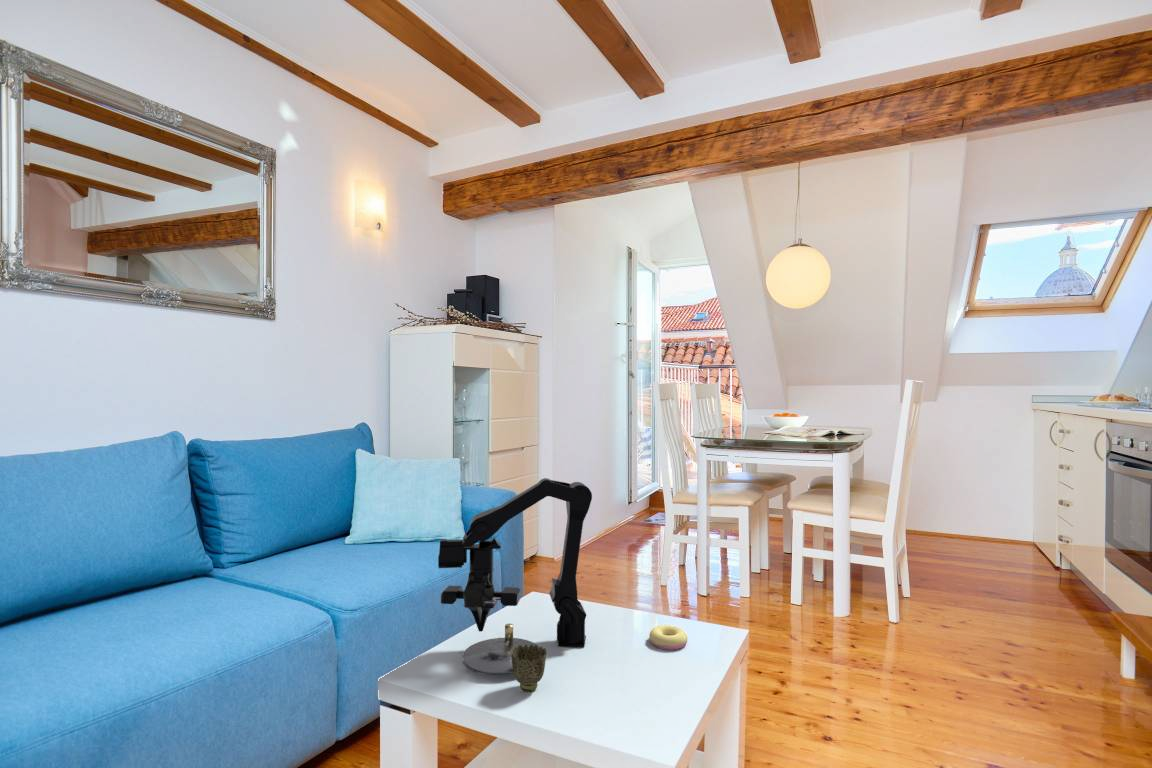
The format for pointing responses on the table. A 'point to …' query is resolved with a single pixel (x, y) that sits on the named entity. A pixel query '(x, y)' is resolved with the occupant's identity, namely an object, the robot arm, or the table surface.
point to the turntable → (494, 654)
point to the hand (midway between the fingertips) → (480, 630)
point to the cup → (528, 666)
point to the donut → (668, 637)
